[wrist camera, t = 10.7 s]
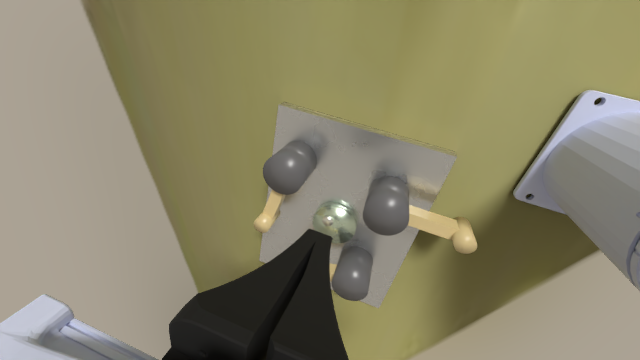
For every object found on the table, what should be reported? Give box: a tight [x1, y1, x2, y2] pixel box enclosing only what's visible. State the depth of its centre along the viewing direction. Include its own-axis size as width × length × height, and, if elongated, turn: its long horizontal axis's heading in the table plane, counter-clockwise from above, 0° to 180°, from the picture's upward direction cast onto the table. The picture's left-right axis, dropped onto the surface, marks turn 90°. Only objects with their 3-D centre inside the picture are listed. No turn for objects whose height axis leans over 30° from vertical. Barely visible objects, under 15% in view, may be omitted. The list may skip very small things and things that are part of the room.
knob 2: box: [330, 246, 373, 301], centre depth 25 cm, size 8×3×4 cm, turn 94°
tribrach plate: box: [259, 102, 457, 308], centre depth 24 cm, size 14×18×2 cm
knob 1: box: [254, 141, 317, 233], centre depth 22 cm, size 8×3×4 cm, turn 156°
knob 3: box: [363, 176, 477, 254], centre depth 20 cm, size 8×3×4 cm, turn 78°
